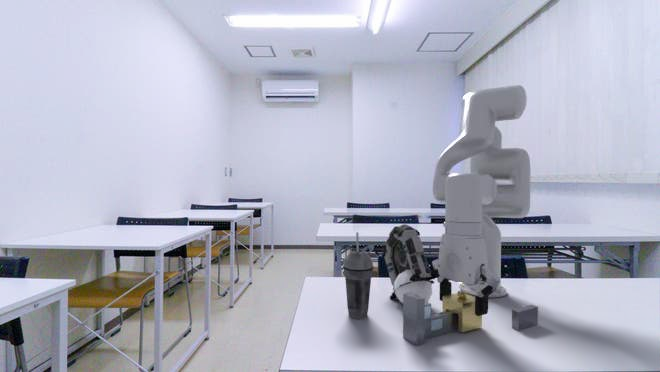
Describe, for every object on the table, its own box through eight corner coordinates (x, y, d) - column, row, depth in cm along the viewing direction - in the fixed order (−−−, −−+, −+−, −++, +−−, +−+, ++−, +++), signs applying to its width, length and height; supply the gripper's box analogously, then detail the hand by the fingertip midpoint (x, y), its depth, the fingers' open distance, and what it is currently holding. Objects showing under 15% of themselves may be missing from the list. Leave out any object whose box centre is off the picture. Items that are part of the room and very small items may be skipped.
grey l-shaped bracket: (403, 337, 69) (403, 293, 69) (467, 320, 78) (467, 281, 78) (416, 345, 65) (416, 299, 65) (482, 327, 74) (482, 286, 74)
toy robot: (453, 293, 79) (424, 213, 91) (416, 297, 76) (391, 213, 88) (420, 315, 92) (398, 243, 105) (388, 319, 90) (369, 244, 102)
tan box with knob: (442, 322, 75) (442, 290, 75) (461, 318, 78) (461, 287, 78) (462, 332, 70) (462, 298, 70) (481, 327, 73) (481, 293, 73)
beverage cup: (376, 311, 83) (376, 230, 83) (369, 323, 76) (370, 234, 76) (347, 308, 85) (348, 229, 85) (338, 319, 78) (339, 233, 78)
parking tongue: (511, 327, 74) (512, 309, 74) (531, 322, 77) (531, 304, 77) (518, 330, 73) (518, 312, 73) (537, 324, 76) (537, 306, 76)
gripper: (422, 225, 80) (421, 297, 80) (486, 235, 65) (485, 324, 65) (445, 224, 83) (444, 293, 84) (510, 233, 68) (510, 317, 68)
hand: (462, 306), depth 74 cm, fingers open, 9 cm apart
